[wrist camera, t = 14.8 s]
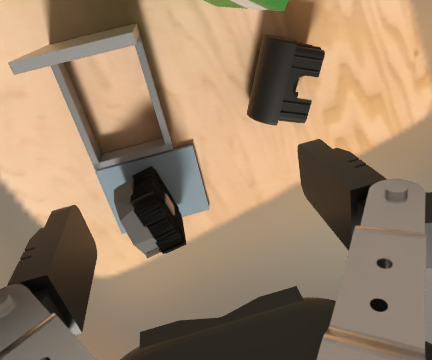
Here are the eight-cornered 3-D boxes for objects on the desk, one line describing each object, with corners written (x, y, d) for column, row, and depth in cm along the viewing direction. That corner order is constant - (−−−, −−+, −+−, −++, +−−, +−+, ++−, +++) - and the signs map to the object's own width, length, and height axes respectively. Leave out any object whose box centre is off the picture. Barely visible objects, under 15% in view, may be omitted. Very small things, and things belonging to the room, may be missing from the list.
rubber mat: (192, 143, 50) (192, 145, 50) (208, 206, 55) (209, 209, 55) (96, 169, 49) (95, 171, 49) (122, 230, 55) (121, 233, 54)
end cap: (255, 32, 45) (272, 37, 39) (306, 41, 47) (329, 47, 41) (240, 108, 49) (253, 123, 43) (287, 114, 51) (306, 129, 45)
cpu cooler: (115, 175, 49) (108, 213, 41) (151, 157, 49) (152, 191, 40) (150, 227, 54) (151, 271, 46) (183, 211, 54) (191, 253, 45)
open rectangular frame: (136, 23, 42) (132, 32, 30) (171, 141, 50) (179, 187, 37) (49, 44, 42) (8, 62, 29) (97, 160, 49) (81, 214, 37)
